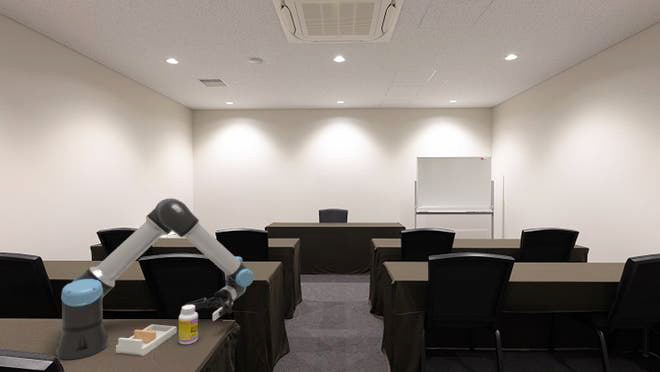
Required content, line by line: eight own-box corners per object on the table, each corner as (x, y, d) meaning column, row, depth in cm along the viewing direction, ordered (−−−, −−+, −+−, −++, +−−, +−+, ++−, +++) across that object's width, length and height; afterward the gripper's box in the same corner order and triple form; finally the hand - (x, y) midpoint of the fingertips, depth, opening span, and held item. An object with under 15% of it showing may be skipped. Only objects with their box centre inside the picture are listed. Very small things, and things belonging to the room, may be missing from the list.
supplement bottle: (191, 346, 126) (190, 310, 126) (175, 344, 127) (174, 309, 127) (201, 337, 133) (201, 304, 132) (186, 336, 134) (185, 303, 134)
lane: (115, 352, 121) (115, 338, 121) (152, 330, 139) (152, 318, 139) (143, 355, 119) (143, 341, 119) (176, 332, 136) (176, 320, 136)
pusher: (134, 341, 128) (134, 330, 128) (136, 340, 129) (136, 329, 129) (154, 343, 126) (154, 332, 126) (156, 342, 127) (156, 331, 127)
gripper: (250, 307, 153) (227, 328, 132) (199, 303, 158) (168, 322, 137) (250, 290, 153) (227, 308, 132) (198, 287, 158) (168, 303, 137)
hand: (197, 315), depth 134 cm, fingers open, 13 cm apart
